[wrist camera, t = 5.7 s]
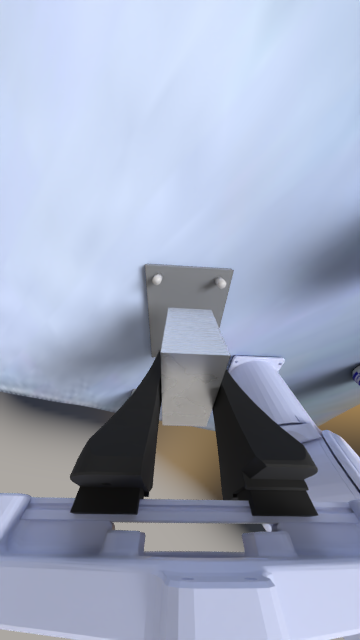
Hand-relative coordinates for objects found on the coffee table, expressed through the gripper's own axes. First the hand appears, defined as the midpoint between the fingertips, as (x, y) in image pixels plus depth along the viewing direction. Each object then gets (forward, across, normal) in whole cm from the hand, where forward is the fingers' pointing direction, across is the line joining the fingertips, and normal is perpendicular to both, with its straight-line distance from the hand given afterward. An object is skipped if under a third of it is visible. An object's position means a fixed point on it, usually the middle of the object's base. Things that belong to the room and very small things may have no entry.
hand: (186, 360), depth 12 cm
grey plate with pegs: (+7, 0, 0) cm, 7 cm away
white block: (+2, 0, 0) cm, 2 cm away
